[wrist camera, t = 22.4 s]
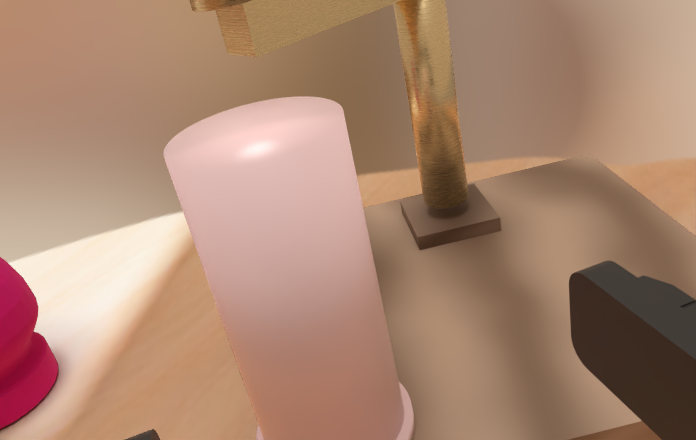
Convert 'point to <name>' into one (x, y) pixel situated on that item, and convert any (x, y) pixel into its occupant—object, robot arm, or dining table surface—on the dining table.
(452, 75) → the brass crank handle
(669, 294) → the robot arm
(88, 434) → the dining table surface
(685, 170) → the dining table surface
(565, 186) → the base
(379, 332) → the cover
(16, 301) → the pepper mill
